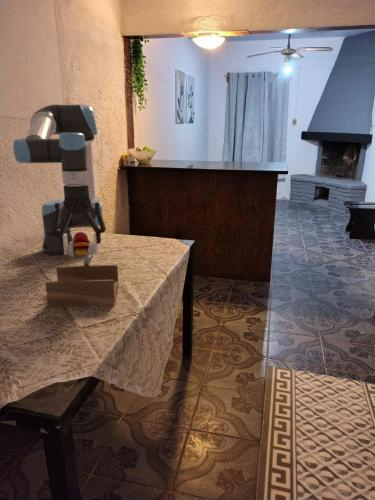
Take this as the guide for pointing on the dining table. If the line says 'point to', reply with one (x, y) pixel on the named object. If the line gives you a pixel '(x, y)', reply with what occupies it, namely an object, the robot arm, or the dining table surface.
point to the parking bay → (83, 286)
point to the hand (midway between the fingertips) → (81, 253)
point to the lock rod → (88, 260)
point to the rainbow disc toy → (81, 245)
